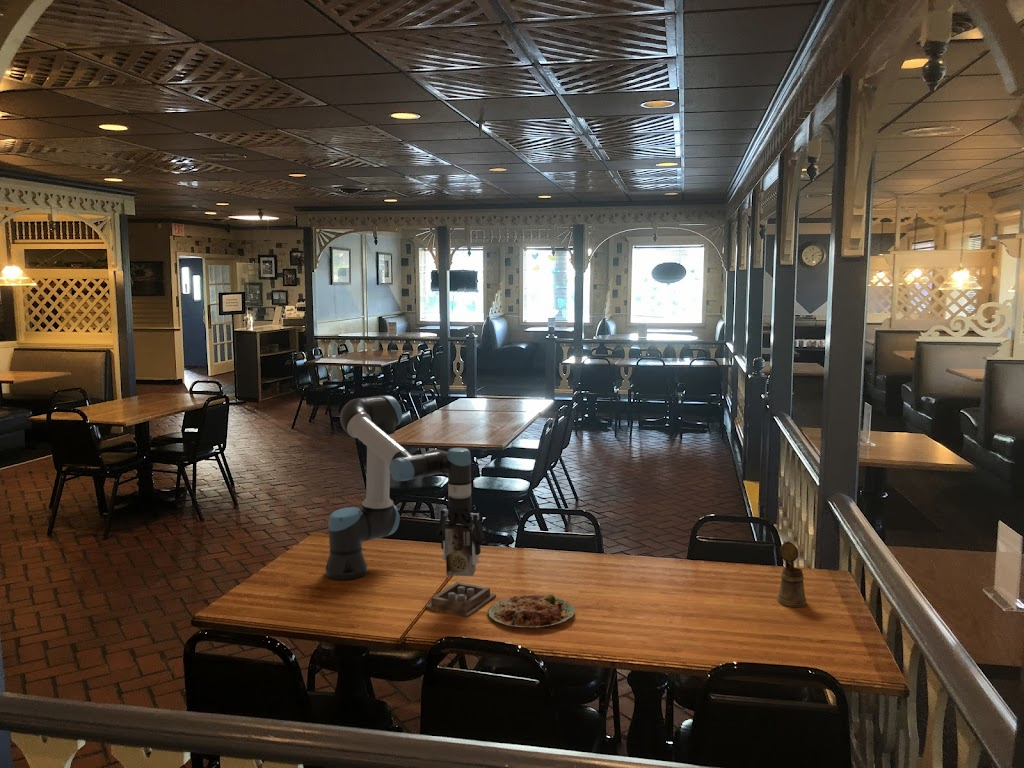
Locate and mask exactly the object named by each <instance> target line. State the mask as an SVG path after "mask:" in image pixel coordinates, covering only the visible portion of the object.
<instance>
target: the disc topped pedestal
mask: <svg viewBox="0 0 1024 768" xmlns="http://www.w3.org/2000/svg"><path fill="white" fill-rule="evenodd" d="M779 555H780V558H781V559H782V560H783V561H784V562H785V567H783V568H782V571H781V574H780V578H781V582H780V587H779V593H778V594H777V602H778V603H779V604H780V605H782V606H785V607H790V608H803V607H805V606H807V604H808V603H807V598H806V594H805V586H804V584H805V583H804V580H805V577H804V572H803V570H802V568H798V567H795V564H794V561H796V560H797V559H798V558H799V549H798V548H797V546H796V545H795V544H794V543H792V542H791V541H789V540H788V541H785V542H784V543H783V544H781V546H779Z"/></svg>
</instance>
